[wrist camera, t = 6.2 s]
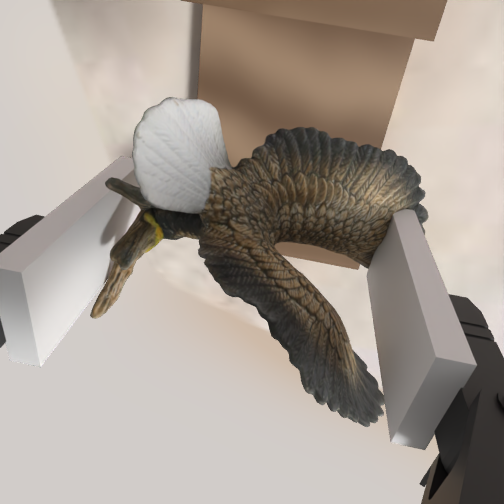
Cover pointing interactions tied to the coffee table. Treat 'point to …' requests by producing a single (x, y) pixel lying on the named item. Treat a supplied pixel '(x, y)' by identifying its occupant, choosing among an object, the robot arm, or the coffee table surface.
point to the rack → (308, 72)
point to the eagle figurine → (267, 228)
